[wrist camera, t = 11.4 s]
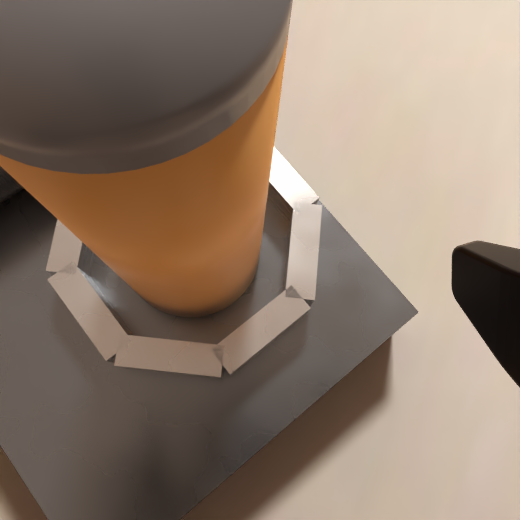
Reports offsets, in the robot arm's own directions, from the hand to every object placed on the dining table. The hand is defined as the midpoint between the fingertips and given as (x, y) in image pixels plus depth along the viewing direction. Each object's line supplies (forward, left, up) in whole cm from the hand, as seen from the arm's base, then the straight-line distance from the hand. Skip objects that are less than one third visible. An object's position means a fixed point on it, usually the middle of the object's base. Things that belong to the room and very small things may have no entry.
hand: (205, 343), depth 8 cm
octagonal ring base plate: (+5, 0, -12) cm, 13 cm away
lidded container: (+4, -2, -9) cm, 10 cm away
